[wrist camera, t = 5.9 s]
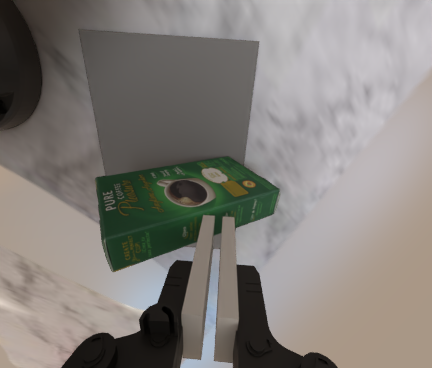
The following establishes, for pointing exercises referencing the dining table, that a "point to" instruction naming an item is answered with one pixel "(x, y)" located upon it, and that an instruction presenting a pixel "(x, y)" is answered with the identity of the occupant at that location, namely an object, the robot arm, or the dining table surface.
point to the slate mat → (168, 98)
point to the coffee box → (176, 206)
